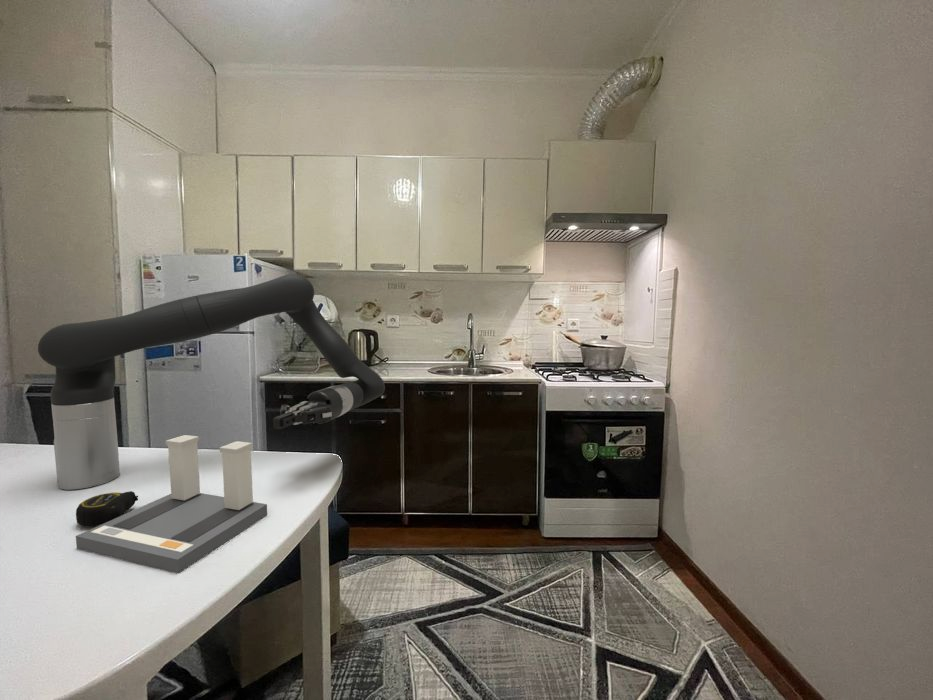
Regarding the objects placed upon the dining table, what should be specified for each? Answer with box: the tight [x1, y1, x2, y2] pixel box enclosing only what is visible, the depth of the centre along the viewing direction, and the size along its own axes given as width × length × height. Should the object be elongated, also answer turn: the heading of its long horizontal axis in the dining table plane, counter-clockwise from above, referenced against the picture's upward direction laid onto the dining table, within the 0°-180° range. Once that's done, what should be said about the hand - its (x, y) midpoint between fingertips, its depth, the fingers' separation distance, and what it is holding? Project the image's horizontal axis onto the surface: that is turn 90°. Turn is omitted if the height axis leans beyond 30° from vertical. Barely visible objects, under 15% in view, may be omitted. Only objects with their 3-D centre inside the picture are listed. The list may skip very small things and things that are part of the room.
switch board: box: [75, 492, 268, 574], centre depth 63 cm, size 20×16×2 cm
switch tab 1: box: [165, 434, 201, 500], centre depth 70 cm, size 3×3×11 cm
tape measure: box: [75, 491, 139, 527], centre depth 66 cm, size 7×7×4 cm
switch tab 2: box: [219, 440, 254, 510], centre depth 66 cm, size 3×3×11 cm
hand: (276, 423), depth 75 cm, fingers closed
